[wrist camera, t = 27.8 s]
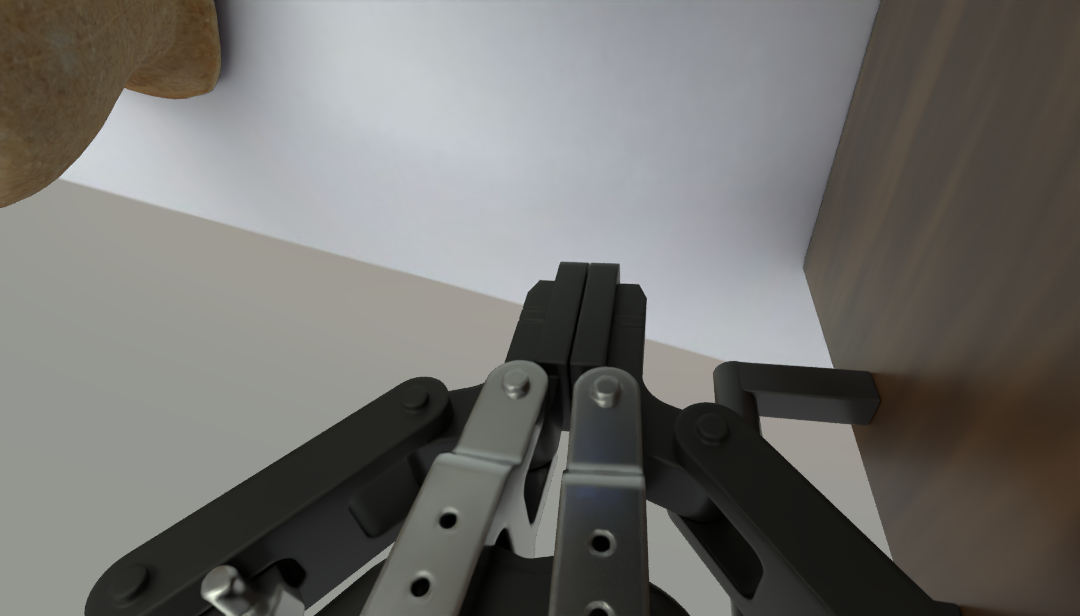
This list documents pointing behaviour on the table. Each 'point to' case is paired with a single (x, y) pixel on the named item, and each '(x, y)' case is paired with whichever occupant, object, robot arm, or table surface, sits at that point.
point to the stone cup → (90, 74)
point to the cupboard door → (954, 301)
